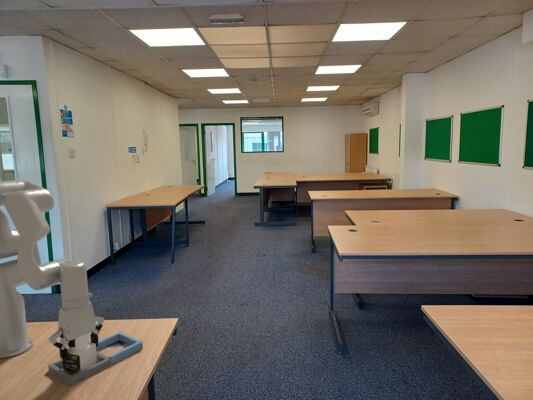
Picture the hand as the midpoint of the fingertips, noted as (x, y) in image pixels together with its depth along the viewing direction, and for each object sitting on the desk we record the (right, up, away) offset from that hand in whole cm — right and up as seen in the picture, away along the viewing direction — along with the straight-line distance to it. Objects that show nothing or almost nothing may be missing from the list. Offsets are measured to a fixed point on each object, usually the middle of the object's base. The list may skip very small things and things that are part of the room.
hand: (80, 352), depth 117 cm
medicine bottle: (0, -6, +1) cm, 6 cm away
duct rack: (+3, -5, +6) cm, 8 cm away
